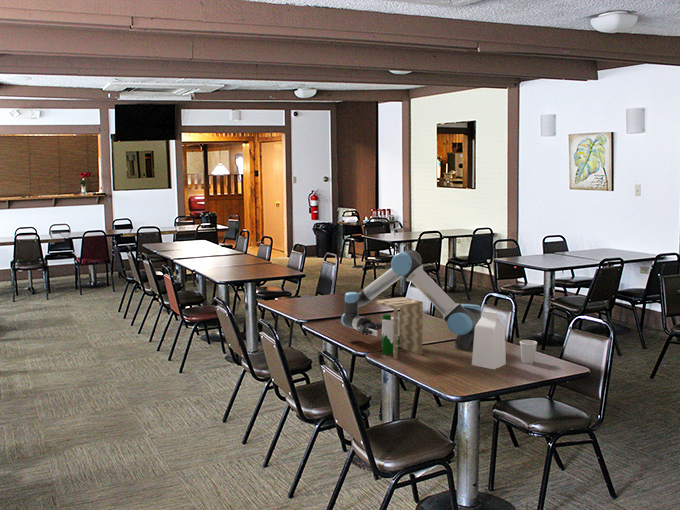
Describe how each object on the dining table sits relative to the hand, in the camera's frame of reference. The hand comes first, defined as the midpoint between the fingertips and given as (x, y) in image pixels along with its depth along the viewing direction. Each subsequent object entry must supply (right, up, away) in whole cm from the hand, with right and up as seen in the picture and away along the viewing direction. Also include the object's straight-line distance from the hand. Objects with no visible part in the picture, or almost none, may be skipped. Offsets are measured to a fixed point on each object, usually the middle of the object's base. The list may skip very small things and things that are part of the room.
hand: (387, 331), depth 359 cm
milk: (+48, -14, -21) cm, 54 cm away
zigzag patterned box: (+6, -11, 0) cm, 12 cm away
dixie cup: (+68, -13, -16) cm, 71 cm away
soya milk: (+2, -11, 0) cm, 11 cm away
